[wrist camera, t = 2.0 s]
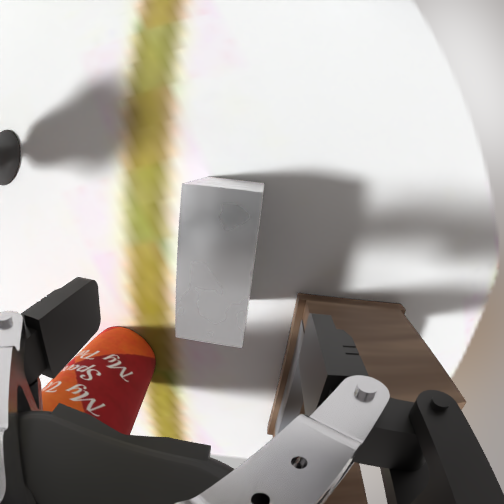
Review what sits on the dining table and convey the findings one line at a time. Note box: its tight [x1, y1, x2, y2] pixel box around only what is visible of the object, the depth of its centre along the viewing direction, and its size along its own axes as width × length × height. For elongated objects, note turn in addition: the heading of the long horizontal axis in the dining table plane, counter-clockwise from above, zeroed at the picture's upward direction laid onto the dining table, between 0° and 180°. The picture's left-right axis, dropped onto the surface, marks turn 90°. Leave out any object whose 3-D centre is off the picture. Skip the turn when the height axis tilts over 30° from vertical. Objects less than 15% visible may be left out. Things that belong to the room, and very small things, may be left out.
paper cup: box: [41, 327, 156, 435], centre depth 17 cm, size 8×8×14 cm
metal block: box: [175, 177, 265, 348], centre depth 17 cm, size 8×4×6 cm, turn 173°
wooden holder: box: [267, 293, 466, 504], centre depth 18 cm, size 14×8×11 cm, turn 173°
